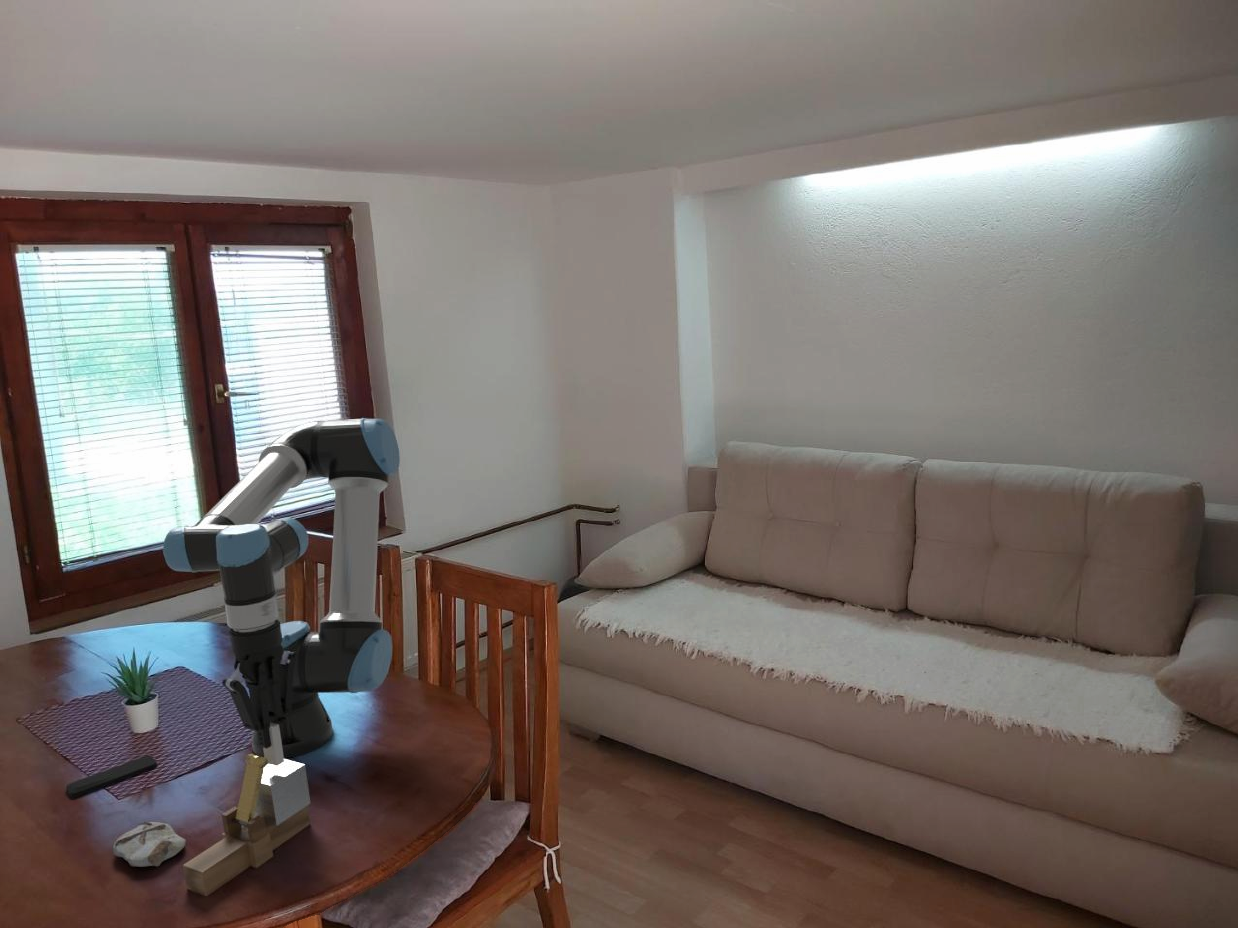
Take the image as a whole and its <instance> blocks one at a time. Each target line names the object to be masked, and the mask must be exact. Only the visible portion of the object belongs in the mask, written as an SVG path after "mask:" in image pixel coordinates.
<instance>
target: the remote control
mask: <svg viewBox="0 0 1238 928" xmlns="http://www.w3.org/2000/svg"><path fill="white" fill-rule="evenodd" d="M157 767H158V763H157V761H156V759H155V758H154V757H153V756H152V755H150V754H149V755H144V756H141V757H139V758H136V759H133V760H131V761H128V762H125V763H123V764H120V765H117V766H114V767H112V768H108V769H105V770H103V771H100V772H97V773H95V774H92V775H89V776H86V777H84V778H81V779H78V780H75V781H72V782H70V783H68V784H66V786H65V787H66V788H65V789H66V794H67V795H68V796H69V798H71V799H76V798H79V797H82V796H85V795H88V794H91V793H93V792H95V791H98V790H101V789H103V788H106V787H108V786H111V785H114V784H116V783H118V782H122V781H125V780H127V779H129V778H133V777H135V776H138V775H140V774H144V773H145V772H148V771H151V770H154V769H155V768H157Z"/></svg>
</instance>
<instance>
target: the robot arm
mask: <svg viewBox="0 0 1238 928" xmlns="http://www.w3.org/2000/svg"><path fill="white" fill-rule="evenodd" d="M400 461H401V460H400V450H399V444H398V439H397V438H396V434H395V432H394V430H393V428H392V426H391V425H390V424H389V423H388V422H387V421H386V420H384V419H383V418H366V417H361V418H353V419H349V418H348V419H336V420H335V419H333V420H316V421H311V422H310V421H309V422H306V423H303V424H301V425H298V426H296V427H294V428H292V429H291V430H289V431H287V432H285V433H284V434H281V436H279V437H277V438H276V439H274V440H273V441H272V442H271V443H270V444H268V445H267V447H265V448H264V449H263V450H262V452H261V454H259V458H258V463H257V464H256V465H254V467H253V468H252V469H251V470H249V472H248V473H246V474H245V475H244V476H243V478H241V480H239V481H238V482H237V483H236V484H235V485H234V486H233V487H232V488H231V489H230V490H229V491H228V492H227V493H226V494H225V495H224V496H223V497H222V498H221V499H219V501H218V502H217V503H216V504H215V505H214V506H213V507H212V508H211V509H210V510H209V511H208V512H207V513H206V514H204V516H203V517H202V518H201V519H199V520H198V522H197V523H196V524H194V525H191V526H190V525H184V526H179V527H178V526H177V527H174V528H172V529H170V530H169V531H168V533H167V534H166V535H165V538H164V541H163V545H162V553H163V557H164V560H165V563H166V564H167V566H168V567H169V568H170V569H171V570H172V571H175V572H190V573H198V572H219V575H220V580H221V586H222V593H223V599H224V606H225V607H224V608H225V614H226V615H225V616H226V624H227V626H228V627H229V628H230V629H229V631H228V634H229V641H230V646H231V651H232V653H233V655H234V658H235V659H234V660H235V661H234V664H233V670H234V672H233V673H232V674H231V675H230V677H229V678H224V679H222V682H221V684H222V686H223V687H224V688H225V689H226V690H227V691H228V692H229V693H230V697H231V698H232V701H233V703H234V705H235V708H236V710H237V713H238V715H239V717H240V720H241V722H242V724H243V725H242V726H243V727H244V728H245V729H247V730H252V733H251V738H250V739H251V746H252V751H253V752H254V753H253V754H254V755H258V756H261V757H265V758H267V760H268V763H267V764H272V765H275V766H278V765H279V764H281V763H283V762H284V759H288V758H292V757H298V756H300V755H304V754H307V753H309V752H312V751H314V750H317V749H318V748H320V747H321V746H323V745H325V744H326V743H327V742H328V741H329V740H330V739H331V738H332V735H333V733H334V732H333V731H334V730H333V723H332V719H331V717H330V715H329V713H328V712H327V709H326V708H325V706H324V704H323V702H322V700H321V699H320V696H319V695H320V694H322V693H323V694H327V693H329V694H330V693H331V694H332V693H333V694H334V693H335V694H336V693H350V694H358V693H362V692H363V693H364V692H365V693H366V692H372V691H375V690H377V689H378V688H380V686H381V685H382V684H383V682H385V679H386V678H387V675H388V674H389V670H390V666H391V663H392V662H391V661H392V656H393V642H392V640H393V639H392V637H391V634H390V633H389V631H387V630H385V629H383V621H382V620H381V618H380V617H379V616H378V615H377V614H376V611H375V610H376V609H375V608H376V588H377V566H378V561H377V560H378V546H379V545H378V544H379V542H378V541H379V539H378V538H379V522H380V519H379V518H380V517H379V516H380V497H381V496H380V495H381V493H382V492H383V491H384V490H386V489H387V487H388V485H389V477H391V476H393V475H395V474H397V472H398V471H399V467H400ZM319 478H327V481H328V482H327V484H328V485H329V486H330V487H331V488H332V490H333V491H334V493H335V498H334V512H333V530H332V531H333V534H332V552H331V571H330V572H331V573H330V588H329V589H330V590H329V610H328V613H327V615H325V616H324V617H323V618H322V619H321V620H320V623H319V631H310V630H311V626H309V623H308V622H307V621H303V620H293V621H287V622H283V623H281V622H280V620H278V619H279V616H280V613H279V608H278V607H279V605H278V599H277V593H276V586H275V579H274V576H275V575H276V574H277V573H279V572H280V571H282V570H284V569H285V568H287V567H288V566H290V565H292V564H295V563H296V562H297V561H298V560H299V558H301V556H303V555H304V554H305V553H306V551H307V549H308V547H309V542H310V541H309V535H308V534H309V533H308V531H307V529H306V528H305V526H304V525H303V524H302V523H301V522H299V520H297V519H294V518H292V517H281V518H278V519H273V520H272V521H270V522H269V523H260V522H261V521H262V519H264V517H265V516H266V515H267V514H268V513H269V512H270V511H271V510H272V509H273V507H274V506H275V505H276V504H277V503H278V502H279V501H280V500H281V499H282V498H283V496H285V494H286V493H287V492H289V490H290V489H294V488H296V487H299V486H300V485H302V483H303V482H304V481H306V480H311V479H319ZM243 679H244V680H243ZM244 685H245V686H246V687H245V686H244ZM247 689H248V690H247Z"/></svg>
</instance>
